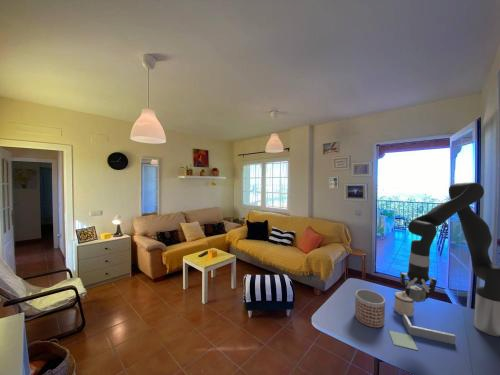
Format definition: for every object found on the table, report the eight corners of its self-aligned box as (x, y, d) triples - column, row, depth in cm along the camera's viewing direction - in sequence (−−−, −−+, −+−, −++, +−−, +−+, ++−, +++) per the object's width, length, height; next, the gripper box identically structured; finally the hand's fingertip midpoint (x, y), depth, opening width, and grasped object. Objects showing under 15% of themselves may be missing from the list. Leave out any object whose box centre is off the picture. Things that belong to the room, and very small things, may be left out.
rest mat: (410, 335, 100) (410, 335, 100) (418, 350, 92) (418, 350, 92) (388, 330, 103) (388, 330, 103) (394, 344, 95) (394, 344, 95)
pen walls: (443, 328, 105) (443, 321, 105) (455, 344, 95) (455, 336, 95) (402, 320, 111) (402, 313, 111) (409, 334, 101) (410, 326, 101)
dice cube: (425, 301, 98) (426, 290, 98) (417, 302, 97) (417, 292, 96) (414, 295, 103) (415, 285, 102) (406, 296, 102) (407, 286, 101)
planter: (389, 330, 104) (390, 305, 103) (359, 326, 107) (360, 302, 106) (378, 312, 117) (378, 290, 117) (351, 309, 120) (352, 287, 119)
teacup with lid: (417, 317, 113) (418, 297, 112) (399, 316, 114) (400, 295, 113) (404, 304, 125) (405, 285, 124) (387, 303, 126) (388, 284, 125)
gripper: (434, 262, 100) (431, 296, 101) (398, 257, 105) (396, 289, 106) (441, 269, 93) (438, 305, 94) (403, 263, 98) (400, 297, 99)
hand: (416, 296), depth 100 cm, fingers closed on dice cube, 6 cm apart
